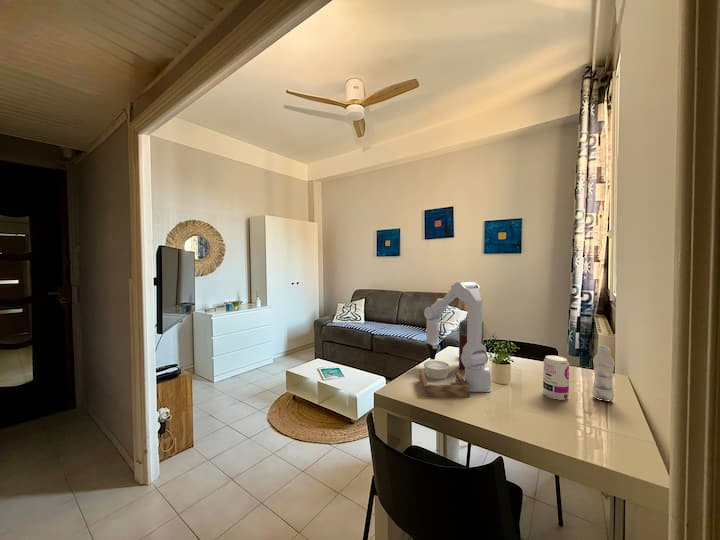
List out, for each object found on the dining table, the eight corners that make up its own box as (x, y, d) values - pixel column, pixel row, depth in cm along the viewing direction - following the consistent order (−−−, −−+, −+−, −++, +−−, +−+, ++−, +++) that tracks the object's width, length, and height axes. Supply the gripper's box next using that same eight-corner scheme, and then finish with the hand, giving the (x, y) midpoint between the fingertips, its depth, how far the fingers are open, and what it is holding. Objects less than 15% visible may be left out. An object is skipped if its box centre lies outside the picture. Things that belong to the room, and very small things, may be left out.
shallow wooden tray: (459, 381, 130) (459, 372, 130) (469, 397, 116) (469, 386, 116) (419, 380, 132) (419, 371, 131) (424, 396, 117) (424, 385, 117)
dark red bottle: (484, 366, 149) (485, 310, 148) (477, 373, 140) (478, 313, 139) (466, 363, 154) (466, 308, 153) (458, 369, 145) (459, 311, 144)
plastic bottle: (610, 397, 115) (611, 346, 114) (616, 405, 109) (618, 351, 108) (589, 394, 118) (590, 344, 117) (594, 402, 112) (596, 348, 111)
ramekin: (434, 382, 130) (434, 370, 130) (419, 373, 140) (419, 362, 140) (454, 378, 135) (454, 366, 134) (438, 369, 145) (438, 359, 145)
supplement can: (570, 396, 117) (570, 357, 116) (566, 403, 111) (567, 363, 110) (545, 389, 122) (546, 353, 122) (540, 396, 116) (541, 358, 116)
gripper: (422, 328, 155) (421, 354, 155) (426, 335, 140) (426, 364, 141) (436, 328, 154) (435, 354, 155) (441, 335, 140) (441, 364, 140)
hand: (432, 359), depth 148 cm, fingers closed
